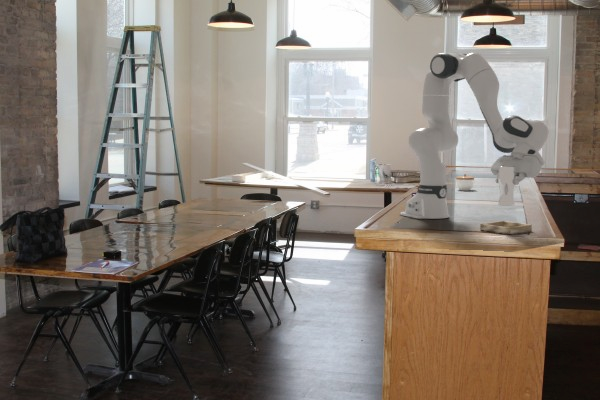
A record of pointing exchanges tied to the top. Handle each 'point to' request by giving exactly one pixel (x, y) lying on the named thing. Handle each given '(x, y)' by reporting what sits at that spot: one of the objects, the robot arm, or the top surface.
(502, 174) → the beer glass
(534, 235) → the top surface
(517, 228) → the oak tray
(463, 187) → the lidded jar
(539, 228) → the top surface
